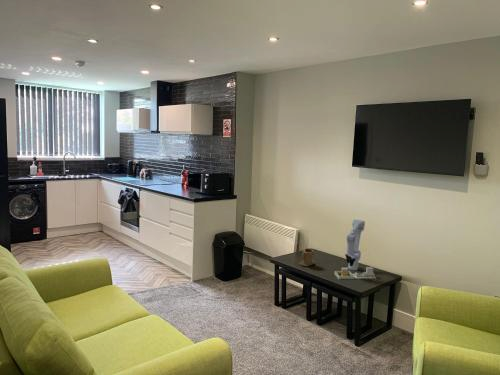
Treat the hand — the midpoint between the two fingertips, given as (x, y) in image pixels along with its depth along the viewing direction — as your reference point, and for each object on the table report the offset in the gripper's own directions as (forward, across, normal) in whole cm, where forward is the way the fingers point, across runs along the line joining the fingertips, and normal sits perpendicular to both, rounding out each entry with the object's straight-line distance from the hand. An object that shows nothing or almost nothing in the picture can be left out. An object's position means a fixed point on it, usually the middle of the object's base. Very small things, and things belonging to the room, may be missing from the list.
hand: (349, 264), depth 321 cm
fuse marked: (+9, +4, -5) cm, 11 cm away
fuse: (+8, +4, +16) cm, 18 cm away
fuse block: (+9, +4, +11) cm, 15 cm away
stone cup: (+10, -25, -30) cm, 40 cm away
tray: (+9, +4, -6) cm, 12 cm away
